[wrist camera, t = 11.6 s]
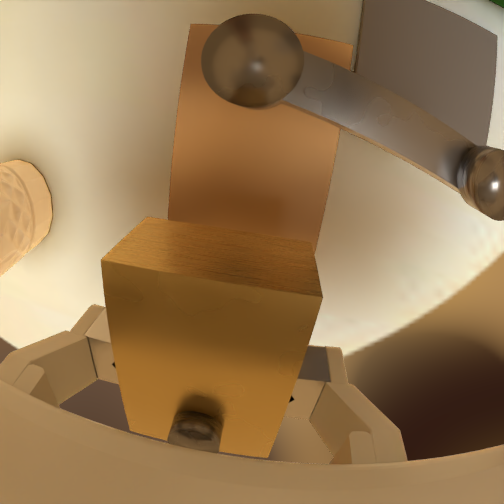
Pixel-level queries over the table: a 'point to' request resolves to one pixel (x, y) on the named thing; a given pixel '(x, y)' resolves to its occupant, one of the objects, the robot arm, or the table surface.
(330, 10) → the table surface
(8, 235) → the white cup
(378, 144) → the lever
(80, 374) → the robot arm
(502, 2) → the milk carton
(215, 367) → the gold block with knob
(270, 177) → the plane body
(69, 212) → the table surface
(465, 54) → the rubber mat
